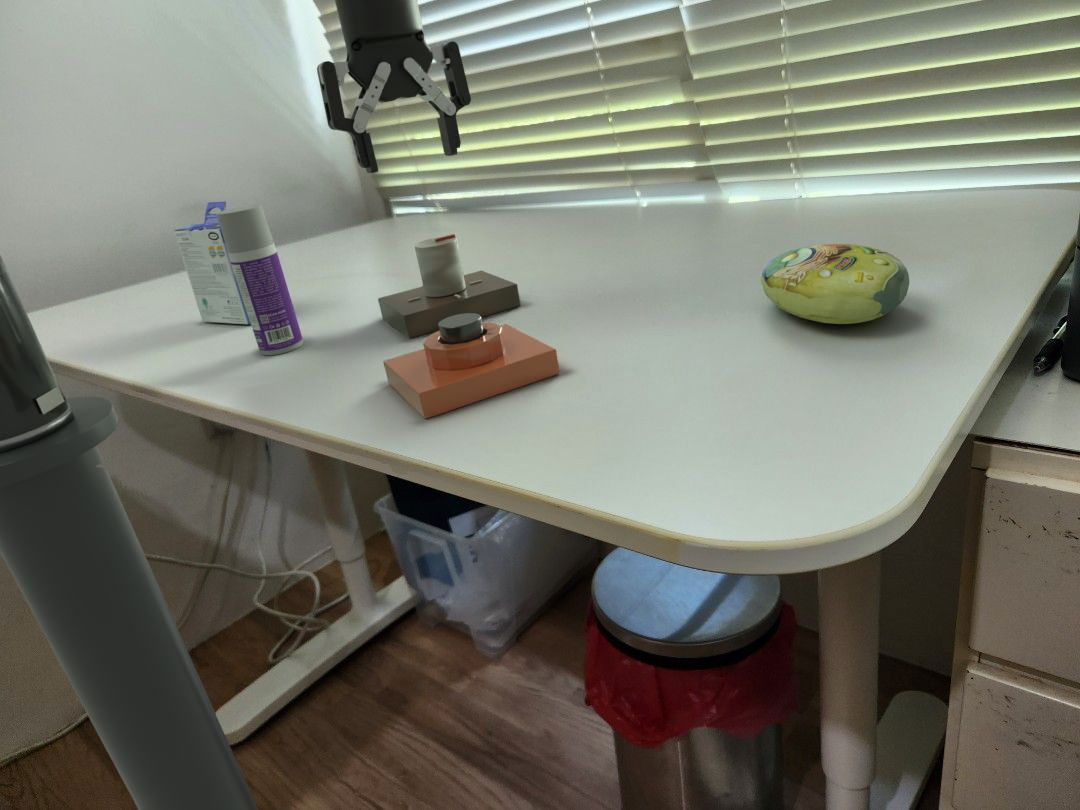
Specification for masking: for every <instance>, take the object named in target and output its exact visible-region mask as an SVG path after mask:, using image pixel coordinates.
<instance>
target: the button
mask: <svg viewBox="0 0 1080 810" xmlns="http://www.w3.org/2000/svg"><path fill="white" fill-rule="evenodd" d="M482 322H483V320H482V317H481V316H480V315H479V314H475V313H465V314H458V315H454V316H450V317H448V318H445V319H443V320H442V321H440V322H439V324H438V326H439V330H438V331H440V335H441V340H442V344H450V345H453V344H461V343H467V342H470V341H474V340H477V339H479V338H481V337H482V336H484V330H483V324H482Z"/></svg>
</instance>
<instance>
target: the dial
mask: <svg viewBox="0 0 1080 810" xmlns="http://www.w3.org/2000/svg"><path fill="white" fill-rule="evenodd" d="M457 239H458V238H457V237H456V235H455V234H454V233H452V234H447V235H443V236H439V237H433V238H429V239H425V240H422V241H419V242H417V243H416V244H414V251H415V255H416V260H417V264H418V268H419V273H420V277H421V282H422V286H423V287H424V291H425V295H426V296H428V297H442V296H448V295H452V294H456V293H458V292H461V291H463V290H464V289H465V288H466V284H465V279H464V275H465V274H464V269H463V265H462V259H461V253H460V248H459V244H458V240H457Z"/></svg>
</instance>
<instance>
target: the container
mask: <svg viewBox="0 0 1080 810" xmlns="http://www.w3.org/2000/svg"><path fill="white" fill-rule="evenodd" d="M263 208H264V207H263V205H262V204H261V203H257V204H256V203H255V204H248V205H241V206H237V207H236V206H235V207H231V208H228V209H225V210H224V211H221V210H220V211H218V212H216V214H217V218H218V221H219V224H220V228H221V231H222V234H223V238H224V241H225V245H226V248H227V251H228V255H229V258H230V261H231V265H232V268H233V271H234V274H235V277H236V280H237V283H238V286H239V289H240V292H241V295H242V298H243V301H244V305H245V308H246V311H247V314H248V317H249V320H250V325H251V329H252V332H253V335H254V338H255V341H256V344H257V347H258V350H259V354H261V355H263V356H276V355H280V354H281V355H282V354H285V353H288V352H292V351H295V350H297V349H298V348H300V347H302V346H303V344H304V338H303V335H302V332H301V329H300V325H299V321H298V317H297V315H296V312H295V308H294V305H293V304H294V303H293V301H292V298H291V294H290V292H289V288H288V283H287V281H286V277H285V274H284V270H283V268H282V264H281V261H280V258H279V254H278V251H277V247H276V245H275V242H274V239H273V236H272V232H271V229H270V227H269V223H268V221H267V218H266V215H265V211H264V209H263Z"/></svg>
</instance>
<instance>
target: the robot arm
mask: <svg viewBox="0 0 1080 810" xmlns="http://www.w3.org/2000/svg"><path fill="white" fill-rule="evenodd" d="M334 2H335V6H336V11H337V16H338V19H339V24H340V28H341V33H342V36H343V40H344V44H345V48H346V60H345V61H335V62H332V61H330V60H326V61H322V62H321V63H319V64H318V65H317V66H316V73H317V77H318V81H319V88H320V92H321V96H322V97H321V98H322V102H323V107H324V111H325V117H326V122H327V126H328V127H329V129H330V130H333V131H340V132H345V133H347V134H349V136H350V138H351V141H352V144H353V148H354V153H355V156H356V160H357V164H358V165H359V167H360V168H361V169H365V171H366V173H367V174H375V173H378V172H379V167H378V166H379V165H378V163H377V157H376V154H375V151H374V146H373V141H372V137H371V134H370V133H371V132H367V126H368V124H369V121H370V119H371V117H372V114H373V112H374V111H375V109H376V107H377V104H378V102H379V103H381V104H382V103H388V102H393V101H396V100H398V99H400V100H401V99H402V100H404V99H411V98H415V97H416V98H417V96H418V97H419V99H421V100H422V101H423V102H425V103H427V105H429V106H430V107H431V108H432V110H434V111H435V112H436V113H437V114H438V115H439V117H437V118H436V119H437V120H436V121H437V125H438V131H439V135H440V140H441V145H442V149H443V154H444V155H445V156H447V157H451V156H456V155H458V149H460V148H461V145H462V144H461V143H462V142H461V141H462V140H461V137H460V131H459V127H458V122H457V120H458V119H457V115H458V114H457V113H458V112H459V111H460V110H462V109H463V108H464V107H466V106H469V105H470V104H471V101H472V96H471V93H470V88H469V84H468V80H467V76H466V71H465V67H464V64H463V59H462V54H461V51H460V46H459V44H458V43H457V42H456V41H454V40H453V41H452V40H451V41H448V42H445V43H442V44H440V45H439V46H435V47H430V46H429V44H428V43H427V42H426V38H425V34H424V33H425V32H424V28H423V22H422V18H421V17H422V16H421V12H420V8H419V2H418V0H334ZM433 60H434V61H435V62H436V64H437V67H438V68H440V69H442V70H443V72H444V77H445V80H446V85H447V88H448V89H447V90H448V93H449V96H450V97H448V96H447V95H446V94H445V93H444V92H443V90H442V88H441V87H440V86H439V84H437V83H436V82H435V81H434V80H433V79H432V78H431V77H430V75H428V74H429V71H430V68H431V66H432V63H433ZM346 74H347V75H349V76H350V78H352V79H353V80H354V82H355V83H356V84H357V85H358V86H360V89H359V92H358V94H357V97H356V98H355V102H354V105H353V110H352V112H351V115H350V117H346V116H345V115H346V114H345V110H344V105H343V102H342V95H341V91H340V87H342V86H343V85H344V83H345V76H346ZM66 399H67V398H66V396H65V394H64V393H63V391H62V389H61V386H60V385H59V382H58V380H57V378H56V374H55V372H54V371H53V368H52V366H51V364H50V362H49V360H48V357H47V355H46V353H45V351H44V349H43V346H42V344H41V342H40V340H39V338H38V335H37V333H36V332H35V329H34V327H33V324H32V322H31V320H30V318H29V316H28V313H27V312H26V309H25V307H24V305H23V302H22V300H21V297H20V295H19V293H18V291H17V289H16V286H15V284H14V282H13V280H12V278H11V275H10V274H9V271H8V269H7V267H6V265H5V263H4V261H3V258H2V255H0V453H2V452H6V451H10V450H13V449H16V448H19V447H22V446H25V445H28V444H31V443H33V442H35V441H38V440H40V439H42V438H45V437H47V436H49V435H51V434H53V433H54V432H56V431H58V430H60V429H61V428H63V427H64V426H65V425H67V424H68V423H69V422H70V421H71V420H72V419H73V416H74V415H73V412H72V410H71V408H70V406H69V404H68V403H67V402H66Z"/></svg>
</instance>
